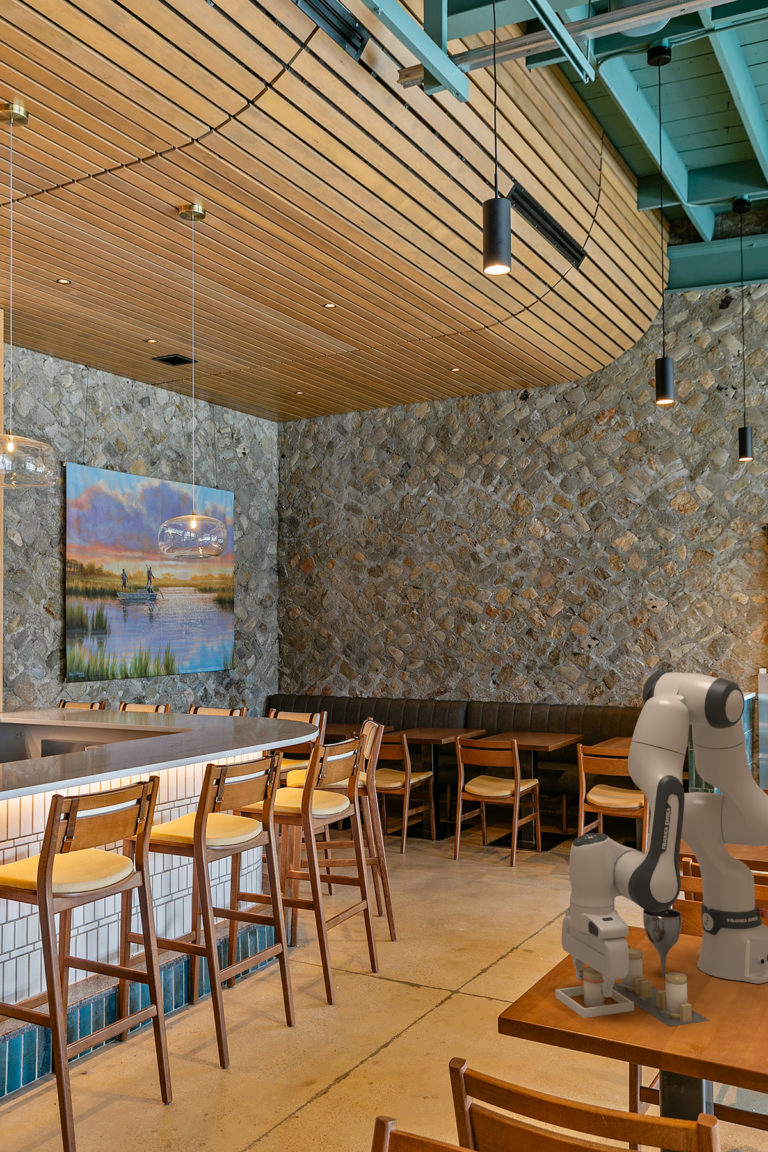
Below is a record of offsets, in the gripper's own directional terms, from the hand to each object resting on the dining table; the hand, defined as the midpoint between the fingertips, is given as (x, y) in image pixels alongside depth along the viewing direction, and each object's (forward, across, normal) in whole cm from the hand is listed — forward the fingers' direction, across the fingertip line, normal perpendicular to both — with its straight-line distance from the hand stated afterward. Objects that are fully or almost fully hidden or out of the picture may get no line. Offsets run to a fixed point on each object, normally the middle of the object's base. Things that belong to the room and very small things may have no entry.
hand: (593, 987), depth 187 cm
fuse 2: (+3, +10, +12) cm, 16 cm away
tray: (+5, 0, 0) cm, 5 cm away
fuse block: (+5, +3, +12) cm, 13 cm away
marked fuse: (+4, 0, 0) cm, 4 cm away
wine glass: (+5, -9, +22) cm, 25 cm away
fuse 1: (+3, -4, +12) cm, 13 cm away
